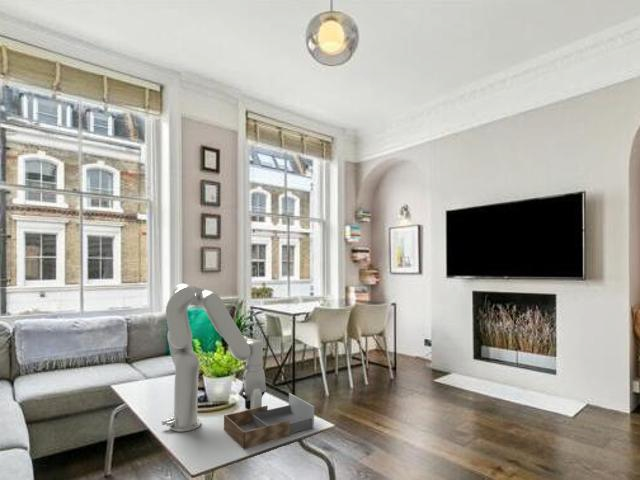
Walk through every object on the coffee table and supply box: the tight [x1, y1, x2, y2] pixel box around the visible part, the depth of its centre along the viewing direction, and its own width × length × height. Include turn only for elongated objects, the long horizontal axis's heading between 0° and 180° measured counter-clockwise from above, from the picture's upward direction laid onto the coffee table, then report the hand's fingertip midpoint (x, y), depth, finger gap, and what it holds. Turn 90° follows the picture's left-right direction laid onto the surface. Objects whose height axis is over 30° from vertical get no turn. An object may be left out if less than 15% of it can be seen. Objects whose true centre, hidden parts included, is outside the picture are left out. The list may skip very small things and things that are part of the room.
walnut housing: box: [223, 405, 291, 450], centre depth 166 cm, size 20×20×6 cm
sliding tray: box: [250, 392, 315, 435], centre depth 173 cm, size 20×20×9 cm
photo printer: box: [244, 388, 263, 411], centre depth 186 cm, size 10×4×12 cm, turn 39°
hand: (252, 407), depth 186 cm, fingers closed on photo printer, 4 cm apart
